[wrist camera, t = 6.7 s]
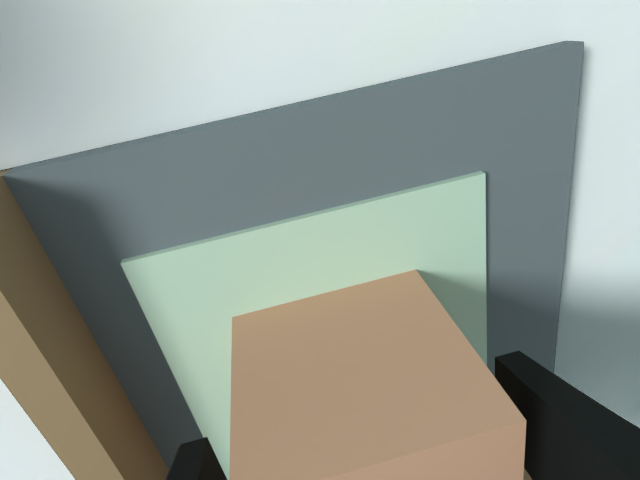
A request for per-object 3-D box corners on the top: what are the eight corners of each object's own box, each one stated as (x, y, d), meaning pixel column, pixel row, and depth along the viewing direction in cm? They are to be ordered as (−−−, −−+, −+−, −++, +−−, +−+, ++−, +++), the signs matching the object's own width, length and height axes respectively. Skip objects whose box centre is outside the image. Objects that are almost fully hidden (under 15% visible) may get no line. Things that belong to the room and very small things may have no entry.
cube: (415, 269, 12) (530, 425, 7) (428, 399, 14) (520, 578, 9) (231, 316, 11) (228, 513, 7) (276, 441, 14) (297, 649, 9)
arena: (535, 460, 18) (577, 522, 16) (199, 559, 17) (194, 640, 15) (566, 40, 10) (656, 45, 8) (-32, 177, 9) (-114, 224, 7)
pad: (484, 414, 15) (487, 419, 15) (230, 487, 14) (230, 493, 14) (481, 170, 11) (485, 173, 11) (122, 259, 10) (120, 263, 10)
